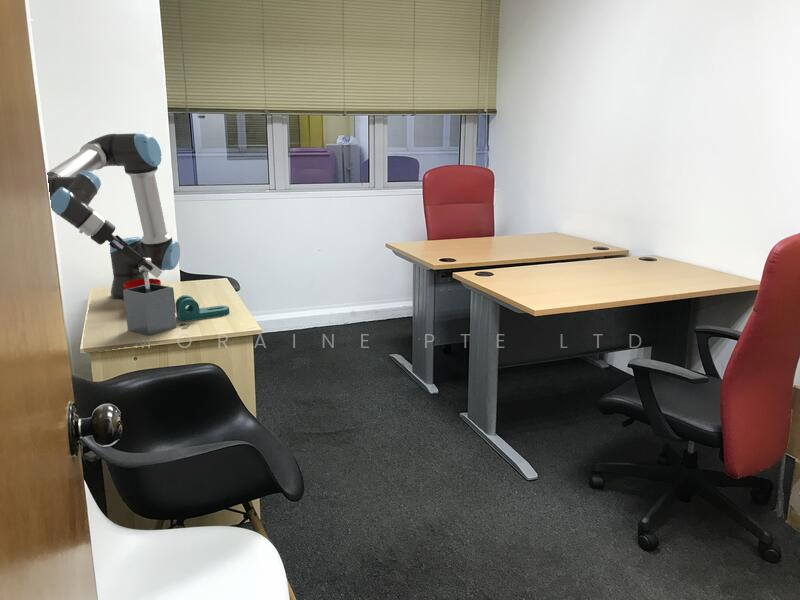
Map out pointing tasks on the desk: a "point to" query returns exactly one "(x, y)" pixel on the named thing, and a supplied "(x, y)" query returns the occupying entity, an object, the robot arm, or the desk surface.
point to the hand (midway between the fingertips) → (158, 273)
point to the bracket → (197, 310)
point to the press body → (150, 309)
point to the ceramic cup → (140, 283)
